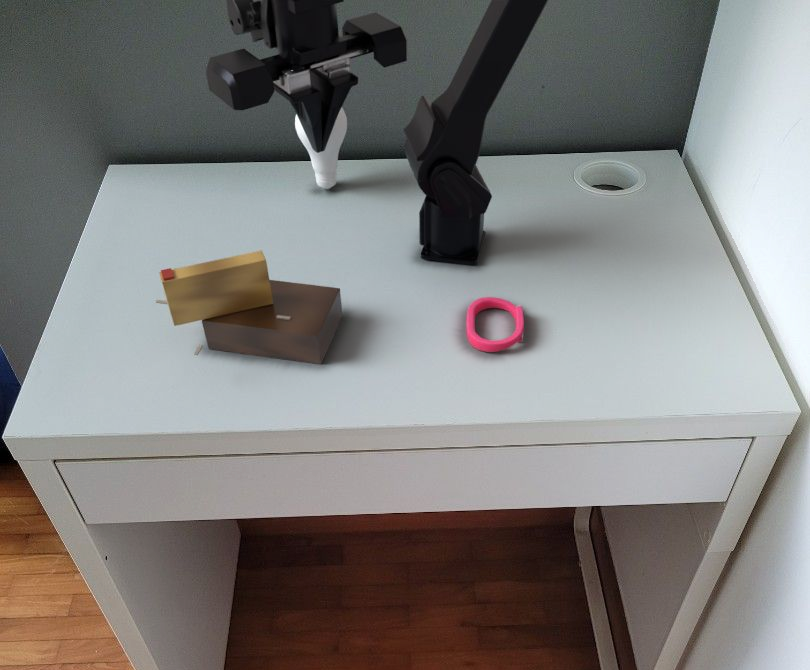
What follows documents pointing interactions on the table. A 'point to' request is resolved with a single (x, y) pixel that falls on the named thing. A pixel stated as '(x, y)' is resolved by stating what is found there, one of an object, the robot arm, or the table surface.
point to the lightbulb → (325, 151)
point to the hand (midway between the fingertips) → (318, 150)
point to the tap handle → (217, 287)
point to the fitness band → (488, 344)
